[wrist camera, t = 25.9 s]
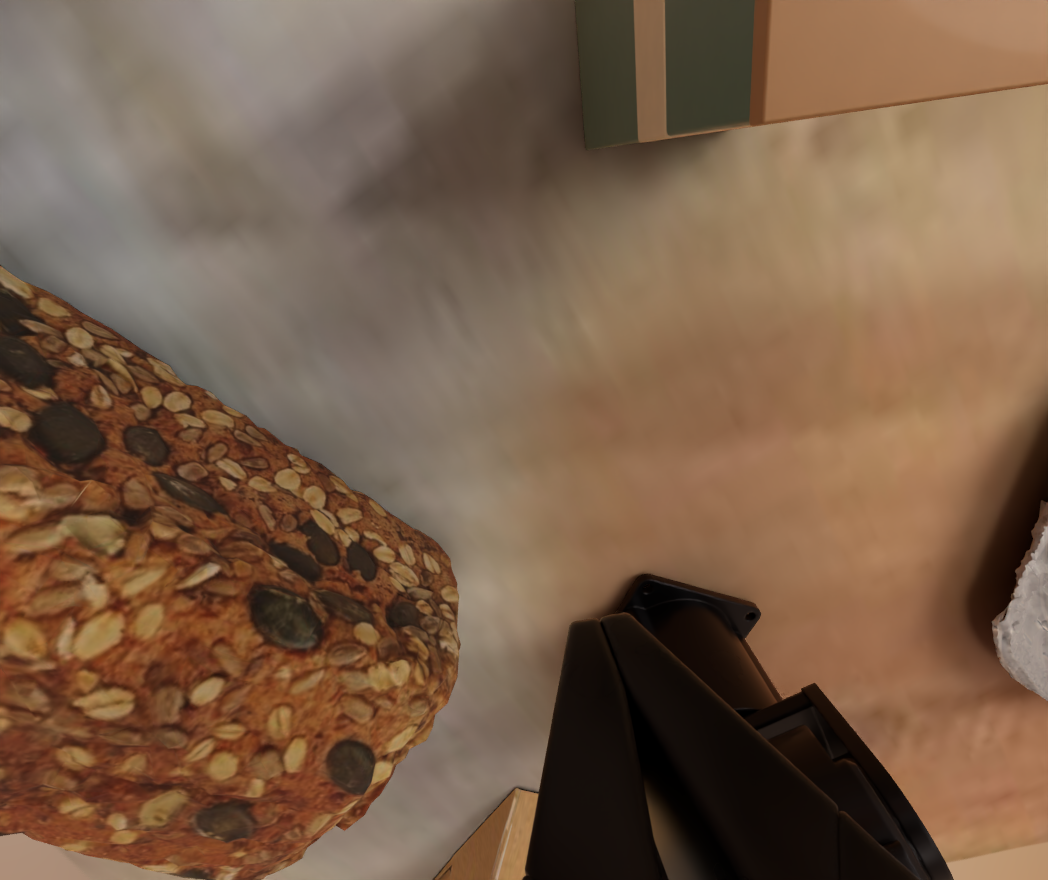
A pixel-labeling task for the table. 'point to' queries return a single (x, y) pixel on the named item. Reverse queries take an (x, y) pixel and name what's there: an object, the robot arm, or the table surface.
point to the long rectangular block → (791, 60)
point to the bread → (192, 616)
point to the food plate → (1028, 616)
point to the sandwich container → (497, 843)
